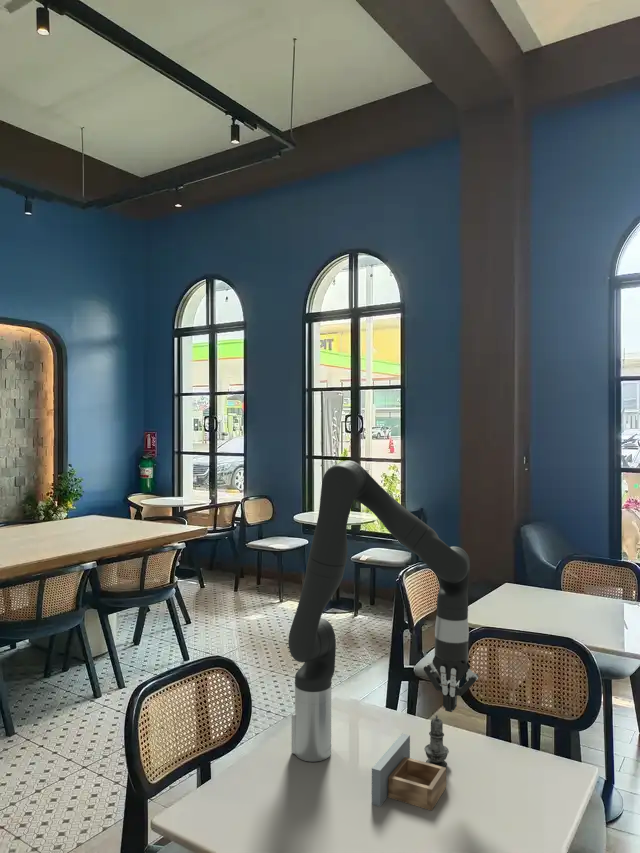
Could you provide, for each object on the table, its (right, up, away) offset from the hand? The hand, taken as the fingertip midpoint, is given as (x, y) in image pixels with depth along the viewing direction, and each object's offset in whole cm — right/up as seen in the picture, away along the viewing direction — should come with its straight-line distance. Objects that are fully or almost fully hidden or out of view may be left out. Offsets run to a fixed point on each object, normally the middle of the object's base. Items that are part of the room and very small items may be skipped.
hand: (449, 710), depth 148 cm
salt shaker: (-1, -17, +9) cm, 20 cm away
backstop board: (-13, -17, 0) cm, 22 cm away
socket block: (-8, -17, -3) cm, 19 cm away
